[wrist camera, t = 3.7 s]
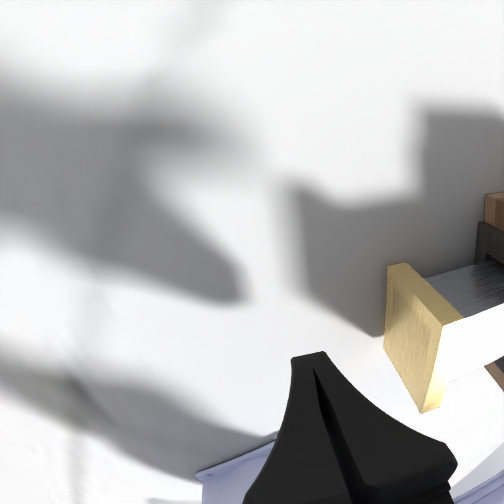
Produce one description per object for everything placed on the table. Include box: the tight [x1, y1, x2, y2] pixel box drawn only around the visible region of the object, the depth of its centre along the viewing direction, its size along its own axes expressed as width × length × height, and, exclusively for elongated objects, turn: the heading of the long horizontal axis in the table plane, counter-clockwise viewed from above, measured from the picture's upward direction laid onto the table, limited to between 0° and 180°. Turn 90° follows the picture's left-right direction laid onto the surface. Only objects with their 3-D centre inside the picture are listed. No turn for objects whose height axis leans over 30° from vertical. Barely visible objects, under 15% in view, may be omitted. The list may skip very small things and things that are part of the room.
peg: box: [383, 258, 504, 414], centre depth 12 cm, size 8×5×5 cm, turn 100°
